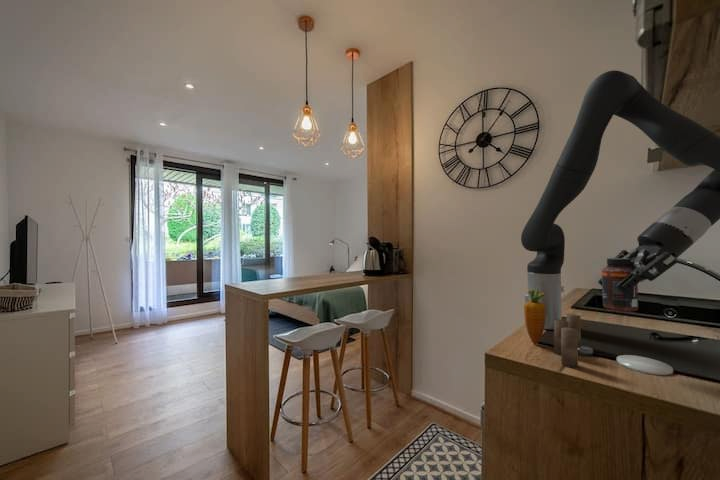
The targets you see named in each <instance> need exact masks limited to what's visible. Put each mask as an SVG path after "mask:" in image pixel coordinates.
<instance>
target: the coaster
mask: <svg viewBox="0 0 720 480" xmlns="http://www.w3.org/2000/svg"><path fill="white" fill-rule="evenodd" d="M616 362H617V364H619V365H620V366H622V367H624V368H626V369H629V370H631V371H632V370H633V371H635V372H638V373H643V374H648V375H654V376H670V375H673V374H674V369H673V367H672V366H671V365H669V364H667V363H665V362H664V361H660V360H657V359H653V358H651V357H650V358H649V357H646V356H639V355H634V354H633V355H631V354H623V355H622V354H621V355H618V356H617V357H616Z"/></svg>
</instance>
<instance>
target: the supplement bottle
mask: <svg viewBox="0 0 720 480" xmlns="http://www.w3.org/2000/svg"><path fill="white" fill-rule="evenodd" d="M606 264H607V265H606V266H605V267H604V268H602V270H601V278H602V286H601V287H602V288H601V290H602V306H603V307H604V308H605V309H607V310H611V311H617V312H631V313H632V312H636V311H638V310H639V290H638V289H639V288H638V286H639V285H638V284H639V283H638V284H637V285H636V286H634V287H633V288H632V289H631V290H630V291H629V292H627V293H622V292H621V291H620V290H619V289H617V288H616V285H617V284H618V283H619V282H620V281H621V280H622V279H624V278H625V277H626V276H627V275H628V274H631V271H632V270H633V268H632V267H631V259H629V258H615V257H610V258H609V257H607V258H606ZM631 275H632V274H631Z"/></svg>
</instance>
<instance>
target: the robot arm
mask: <svg viewBox="0 0 720 480" xmlns="http://www.w3.org/2000/svg"><path fill="white" fill-rule="evenodd" d="M579 108H580V109H579V111H578V114H577V117H576V120H575V122H574V123H575V124H574V125H573V128H572V130H571V133H570V135H569V137H568V139H567V141H566V143H565V144H564V145H565V146H564V147H563V150H562V151H561V154H560V156H559V158H558V159H557V162H556V164H555V166H554V168H553V170H552V173H551V175H550V178H549V180H548V183H547V184H546V187H545V189H544V191H543V193H542V194H541V197H540V199H539V201H538V202H537V206H535V209H534V211H533V212H532V214H531V215H530V216H529V219H528V220H527V222H526V224H525V226H524V227H523V229H522V232H521V235H520V236H521V238H520V241H521V245H522V247H523V248H524V249H525V250H526V251H529V252H535V253H536V256H535V258H534V259H533V260H532V261H530V262H529V263H528V264H527V267H526V271H527V273H526V274H527V275H526V276H527V277H526V278H527V293H526V294H525V295H524V304H525V303H526V302H530V301H531V297H530V294H529V291H530V290H531V289H534V297H535V294H536V291H537V290H539V294H538V296H539V295H540V294H542V293H544V294H545V295H544V296H542V297H541V298H540V299H539V300H538V302H540V303H542V304H543V305H544V306H545V325H544V330H553V331H554V320H557V319H558V320H563V319H562V318H563V317H562V314H563V313H562V267H563V265H564V263H565V246H566V245H565V243H566V239H565V234H564V230H563V229H562V226H560V225H558V224H556V223H555V222H556V220H557V218H558V217H559V215H560V214H561V213H562V212H563V211H564V210H565V208H566V207H567V206H569V205H570V204H571V203H572V202H574V200H575V199H576V198H577V197H578V196H579V195H580V194H581V193H582V192H583V190H584V189H585V188H586V187H587V185H588V183H589V181H590V179H591V177H592V175H593V173H594V171H595V169H596V166H597V165H598V160H599V156H600V150H601V145H602V141H603V136H604V133H605V131H606V129H607V127H608V125H609V123H610V122H611V120H612V118H613V116H616V117H618V118H621V119H622V120H625V121H627V122H629V123H630V124H632V125H634V126H635V127H636V128H638V129H639V130H640V131H642V132H643V133H644V134H645V136H647V137H648V138H649V139H650V140H651V141H652V142H653V143H654V144H655V145H657V146H658V148H660V149H662V150H663V151H665V152H666V153H667V154H668V155H670V156H671V157H673V158H674V159H676V160H677V161H678V162H680V163H682V164H684V165H685V166H690V167H695V166H698V165H700V164H702V165H705V166H706V167H708V168H712V169H713V170H712V171H711V172H710V173H709V174H707V176H706V177H704V178H703V180H702V181H701V182H700V183H699V184H697V186H695V188H694V189H693V190H692V191H690V192H689V193H688V194H686V195H684V197H683V198H681V199H680V200H679V201H678V202H676V203H675V205H674V206H672V207H671V208H670V209H669V210H667V211H666V212H665V213H663V214H662V215H660V216H659V217H658V218H657V219H656V220H655V221H654V222H653V223H651V224H650V225H649V226H648V227H647V228H646V229H645V230H644V231H642V232H641V233H640V234H639V235H638V236H637V239H636V240H637V243H638V246H637V247H636V248H634V249H632V250H630V251H627V250H626V249H623V250H620V252H618V254H617V255H616V256H615V257H614V258H629V259H631V267H632V268H633V270H632V271H631V274H632V275H631V274H628V275H627V276H626V277H625V278H624V279H622V280H621V281H620V282H619V283H618V284H617V285H616V288H617V289H619V290H620V291H621V292H622V293H627V292H629V291H630V290H631V289H632V288H633V287H634V286H636V285H637V284H639V283H640V282H641V283H642V282H646V280H648V281H650V282H652V281H654V280H656V279H657V278H658V277H660V276H661V275H663V274H664V273H665V272H667V271H668V270H669V269H671V268H672V267H673V266H675V265H676V264H677V263H678V262H679V260H678V258H679V257H680V256H681V255H683V254H684V253H685V252H686V251H687V250H689V248H691V247H692V245H694V244H695V243H696V242H697V241H699V240H700V239H701V238H702V237H703V236H704V235H705V234H706V233H707V232H708V230H709V229H711V227H712V226H713V225H715V224H716V223H717V222H718V221H720V136H719V135H717V134H716V133H715V132H713V131H711V130H710V129H708V128H706V127H705V126H704V125H701V124H699V123H698V122H696V121H694V120H693V119H691V118H689V117H687V116H685V115H684V114H681V113H679V112H678V111H676V110H674V109H672V108H670V107H669V106H667V105H665V104H664V103H663V102H661V101H659V100H658V99H657V98H655V96H653V95H652V94H651V93H650V92H649V91H648V90H647V89H646V88H645V87H644V86H643V85H642V84H641V83H640V81H638V79H637V78H636V77H634V76H633V75H631V74H629V73H627V72H624V71H622V70H621V71H620V70H609V71H605V72H603V73H602V74H600V75H599V76H597V77H596V78H595V79H594V80H593V81H592V82H591V83H590V84H589V86H588V88H587V89H586V91H585V94H584V97H583V99H582V103H581V106H580V107H579ZM597 282H598V284H599V285H600V286H601V287H602V277H600V278H599V280H598V281H597Z"/></svg>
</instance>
